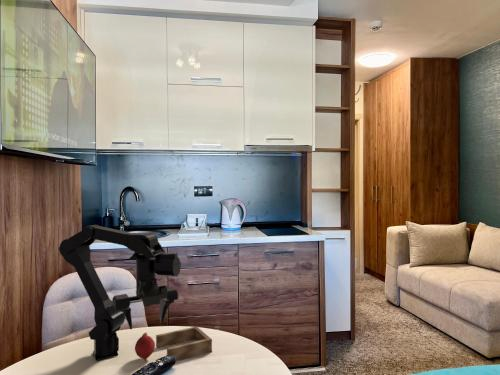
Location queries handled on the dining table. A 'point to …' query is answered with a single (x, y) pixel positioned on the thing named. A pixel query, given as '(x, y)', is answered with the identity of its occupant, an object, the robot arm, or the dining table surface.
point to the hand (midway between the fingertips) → (146, 325)
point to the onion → (144, 346)
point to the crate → (186, 350)
